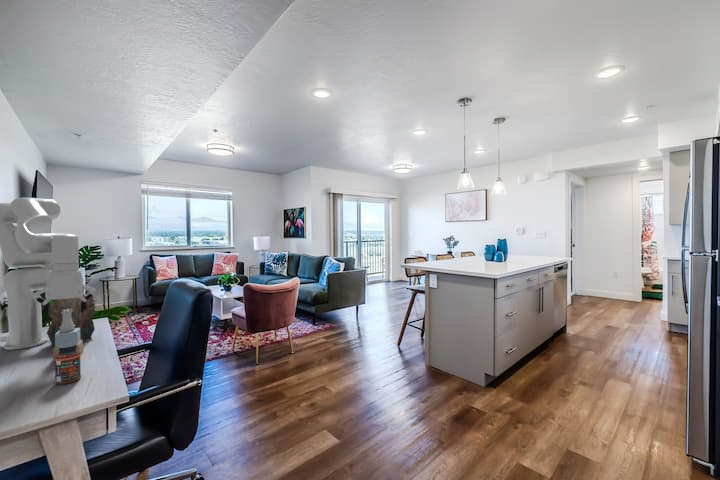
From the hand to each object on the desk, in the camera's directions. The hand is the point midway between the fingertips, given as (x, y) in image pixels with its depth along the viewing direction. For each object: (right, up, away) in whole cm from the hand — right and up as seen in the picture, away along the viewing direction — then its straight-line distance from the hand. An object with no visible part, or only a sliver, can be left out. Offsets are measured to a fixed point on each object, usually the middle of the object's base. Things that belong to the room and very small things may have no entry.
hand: (65, 313), depth 119 cm
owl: (-12, -16, +16) cm, 26 cm away
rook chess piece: (+1, -7, 0) cm, 7 cm away
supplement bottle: (+19, -17, -19) cm, 32 cm away
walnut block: (+1, -17, 0) cm, 17 cm away
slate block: (+1, -12, 0) cm, 12 cm away
